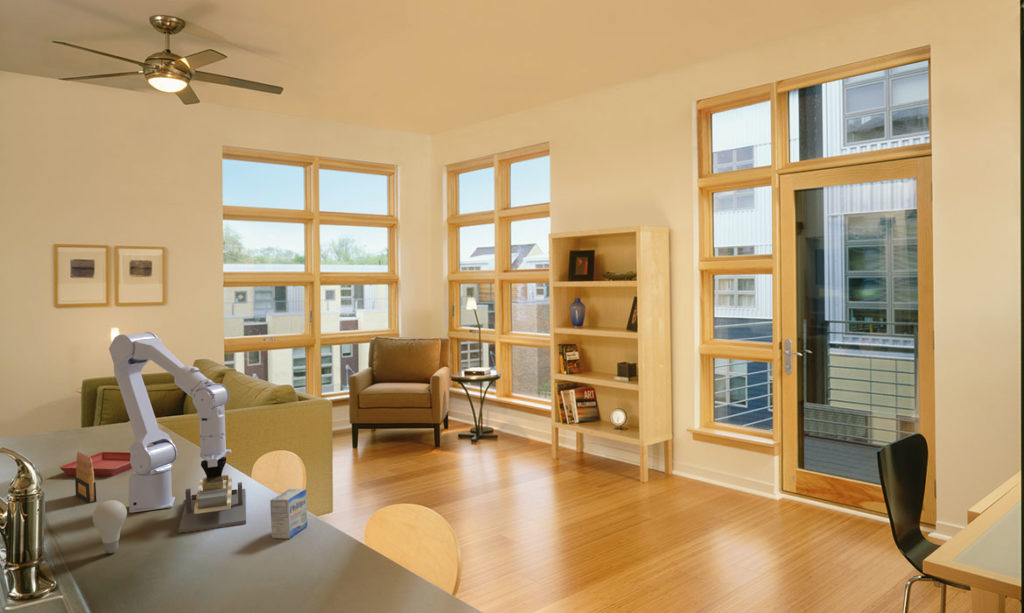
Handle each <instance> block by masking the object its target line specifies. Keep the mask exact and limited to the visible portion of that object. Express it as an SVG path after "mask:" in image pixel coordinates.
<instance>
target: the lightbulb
mask: <svg viewBox="0 0 1024 613" xmlns="http://www.w3.org/2000/svg"><path fill="white" fill-rule="evenodd" d="M127 515H128V510H127V508H126V506H125V504H124V503H122V501H121V502H120V501H119V500H114V499H111V500H106V501H103V502H101V503H100V504H99V505H98V506H96V507H95V509H94V510H93V513H92V518H91V519H92V522H93V525H94V526H95V528H96V529H97V530H98V532H99V535H100V537H101V541H102V543H103V544H102V545H103V551H104V552H105V553H108V554H109V555H110V554H111V555H112V554H115V552H116V551H117V550H118V549H119V546H120V545H119V540H120V537H121V536H120V535H121V530H122V527H123V525H124V523H125V521H126V519H127Z"/></svg>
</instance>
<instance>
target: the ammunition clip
mask: <svg viewBox="0 0 1024 613" xmlns="http://www.w3.org/2000/svg"><path fill="white" fill-rule="evenodd" d="M90 456H91V455H90ZM90 456H89V455H87V453H84V452H83V453H82V451H80V450H79V451H78V452H77V454H76V461H77V462H76V476H74V479H75V480H74V481H75V485H74V486H75V497H77V498H79V499H80V500H82V501H84V502H85V503H86V504H93V503H96V502H97V485H96V482H95V476H94V471H93V464H92V459H91V457H90Z"/></svg>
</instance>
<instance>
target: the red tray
mask: <svg viewBox="0 0 1024 613" xmlns="http://www.w3.org/2000/svg"><path fill="white" fill-rule="evenodd" d="M90 457H91V459H92V464H93V471H94V477H115V476H117V475H119V474H121V473H125V472H127V471H129V470H131V468H132V466H131V463H130V457H131V454H130V451H129V452H124V451H101V452H98V453H95V454H92V455H90ZM76 462H77V460H75V461H72V462H69V463H66V464H63V465H61V466H59V469H60V470H61V471H62V472H64V473H66V474H67V475H68V476H74V477H76ZM132 469H133V468H132Z"/></svg>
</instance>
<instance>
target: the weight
mask: <svg viewBox="0 0 1024 613" xmlns="http://www.w3.org/2000/svg"><path fill="white" fill-rule="evenodd" d="M206 477H207V476H206ZM202 487H203V491H205V490H213V489H220V488H224V486H223V476H222V475H221V476H215V477H207V478H205V477H203V484H202Z"/></svg>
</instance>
